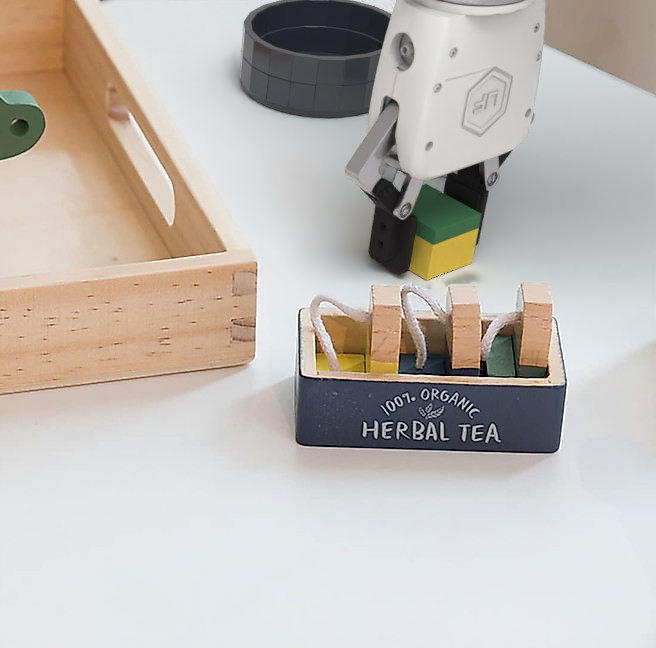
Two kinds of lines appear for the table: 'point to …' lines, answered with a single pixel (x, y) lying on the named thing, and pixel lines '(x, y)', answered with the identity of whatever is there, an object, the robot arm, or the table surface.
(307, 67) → the bowl
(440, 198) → the sponge
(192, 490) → the table surface
